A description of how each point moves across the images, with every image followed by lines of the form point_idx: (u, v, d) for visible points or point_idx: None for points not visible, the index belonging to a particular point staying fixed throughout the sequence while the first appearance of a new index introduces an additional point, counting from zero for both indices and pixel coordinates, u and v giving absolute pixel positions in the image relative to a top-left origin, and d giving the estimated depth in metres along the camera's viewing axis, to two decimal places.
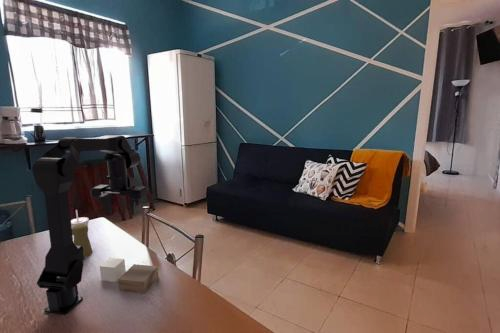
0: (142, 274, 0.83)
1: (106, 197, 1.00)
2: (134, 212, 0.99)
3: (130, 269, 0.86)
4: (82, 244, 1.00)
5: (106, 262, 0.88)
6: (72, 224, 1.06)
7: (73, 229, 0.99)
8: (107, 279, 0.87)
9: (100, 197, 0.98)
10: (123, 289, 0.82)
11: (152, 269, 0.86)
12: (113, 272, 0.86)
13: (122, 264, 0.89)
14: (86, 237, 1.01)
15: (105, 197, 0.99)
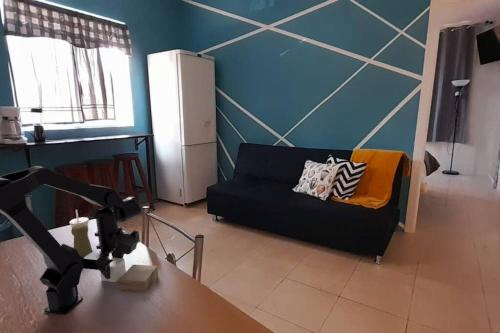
0: (143, 274, 0.84)
1: (116, 250, 0.91)
2: (105, 275, 0.86)
3: (130, 269, 0.86)
4: (82, 244, 1.00)
5: None
6: (72, 224, 1.06)
7: (73, 229, 0.99)
8: (107, 279, 0.87)
9: None
10: (124, 289, 0.82)
11: (152, 269, 0.86)
12: (113, 272, 0.86)
13: (122, 264, 0.89)
14: (86, 237, 1.01)
15: (114, 249, 0.91)
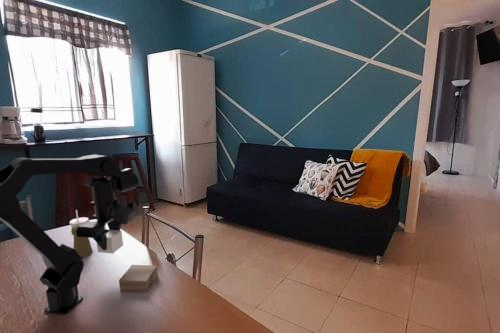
0: (143, 274, 0.84)
1: (113, 222, 0.89)
2: (101, 246, 0.84)
3: (129, 270, 0.86)
4: (82, 244, 1.00)
5: None
6: (72, 224, 1.06)
7: (73, 229, 0.99)
8: (104, 250, 0.85)
9: None
10: (124, 289, 0.82)
11: (152, 268, 0.87)
12: (110, 243, 0.84)
13: (119, 235, 0.87)
14: (86, 237, 1.01)
15: (111, 221, 0.89)
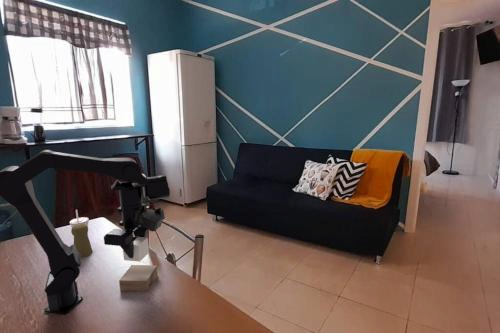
0: (143, 274, 0.84)
1: (138, 228, 0.85)
2: (128, 254, 0.80)
3: (129, 270, 0.86)
4: (82, 244, 1.00)
5: None
6: (72, 224, 1.06)
7: (73, 229, 0.99)
8: (130, 258, 0.81)
9: None
10: (125, 289, 0.82)
11: (152, 268, 0.87)
12: (137, 250, 0.80)
13: (146, 243, 0.84)
14: (86, 237, 1.01)
15: (137, 228, 0.85)
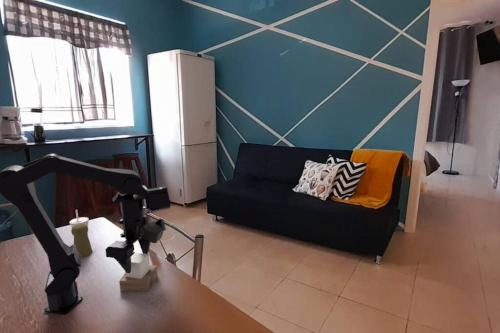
0: None
1: None
2: (125, 269, 0.79)
3: None
4: (82, 244, 1.00)
5: None
6: (72, 224, 1.06)
7: (73, 229, 0.99)
8: (132, 275, 0.82)
9: None
10: (125, 290, 0.82)
11: (152, 268, 0.87)
12: (138, 268, 0.81)
13: (147, 259, 0.85)
14: (86, 237, 1.01)
15: None
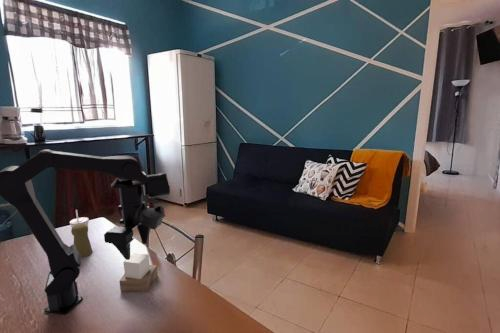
0: None
1: (142, 224, 0.87)
2: (124, 256, 0.78)
3: None
4: (82, 244, 1.00)
5: (130, 257, 0.83)
6: (72, 224, 1.06)
7: (73, 229, 0.99)
8: (131, 275, 0.82)
9: None
10: (125, 290, 0.82)
11: (152, 268, 0.87)
12: (138, 268, 0.81)
13: (146, 260, 0.84)
14: (86, 237, 1.01)
15: (141, 223, 0.87)
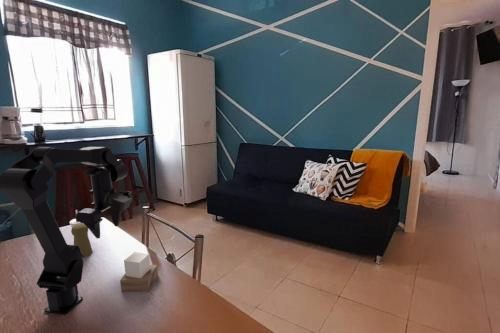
0: None
1: (114, 208, 0.97)
2: (95, 234, 0.88)
3: None
4: (82, 244, 1.00)
5: (130, 256, 0.84)
6: (72, 224, 1.06)
7: (73, 229, 0.99)
8: (131, 274, 0.82)
9: None
10: (126, 289, 0.82)
11: (152, 268, 0.87)
12: (138, 267, 0.81)
13: (147, 259, 0.85)
14: (86, 237, 1.01)
15: (112, 207, 0.97)
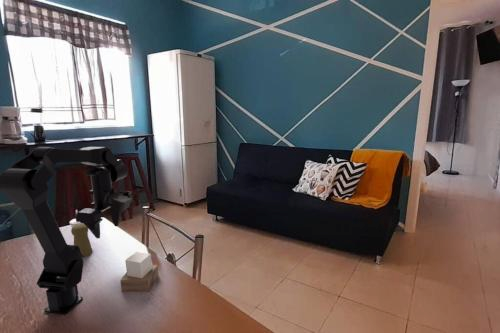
0: None
1: (114, 208, 0.97)
2: (95, 234, 0.88)
3: None
4: (82, 244, 1.00)
5: (132, 256, 0.84)
6: (72, 224, 1.06)
7: (73, 229, 0.99)
8: (133, 274, 0.83)
9: None
10: (126, 289, 0.82)
11: (153, 268, 0.87)
12: (139, 267, 0.81)
13: (148, 259, 0.85)
14: (86, 237, 1.01)
15: (112, 207, 0.97)
